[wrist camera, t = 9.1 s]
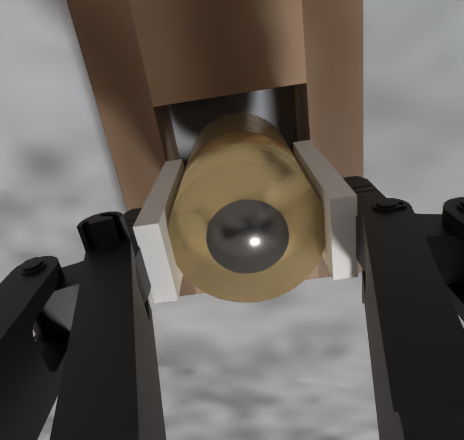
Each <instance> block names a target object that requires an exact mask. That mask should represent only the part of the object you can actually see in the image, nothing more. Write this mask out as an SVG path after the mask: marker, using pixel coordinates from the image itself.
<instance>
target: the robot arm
mask: <svg viewBox="0 0 464 440" xmlns="http://www.w3.org/2000/svg"><path fill="white" fill-rule="evenodd" d="M293 148H294V157H295V158H296V160H297V162H298V163H299V165H300V167H301V169H302V170H303V172H304V174H305V175H306V177H307V179H308V181H309V182H310V184H311V186H312V187H313V189H314V191H315V193H316V194H317V196H318V198H319V199H320V201H321V204H322V206H323V208H324V221H325V241H326V245H325V248H324V251H323V254H322V256H323V258H324V260H325V263H326V265H327V267H328V269H329V272H330V274H331V276H332V278H333V280H337V279H344V278H352V277H358V262H359V264H360V266H361V267H362V303H365V312H366V321H367V330H368V339H369V348H370V357H371V366H372V375H373V384H374V393H375V403H376V412H377V421H378V430H379V439H380V440H464V328H463V326H462V324H461V321H460V319H459V317H458V315H459V316H460V318H461V319H462V320H463V321H464V197H458V198H454V199H450V200H448V201H446V202H445V203H444V205H443V214H416V213H414V211H413V209H412V206H411V205H410V204H409V203H408V202H405V201H403V200H400V199H395V198H386V197H385V196H384V195H383V194H382V193H381V192H380V191H379V190H377V188H376V187H375V186H373V184H372V183H371V182H370V181H369V180H368V179H365V178H362V177H360V176H351V177H344V178H342V177H341V176H340V174H339V173H338V172H337V171H336V170H335V169H334V167H333V166H332V165H331V164H330V163H329V161H328V160H327V159H326V158H325V157H324V155H323V154H322V153H321V152H320V151H319V149H318V148H317V147H316V146H315V145H314V144H313V142H312V141H311V140H306V141H299V142H293ZM184 172H185V169H184V164H183V159H179V160H172V161H166V162H165V164H164V166H163V168H162V170H161V172H160V174H159V176H158V178H157V180H156V182H155V184H154V186H153V188H152V190H151V192H150V194H149V195H148V197H147V199H146V201H145V203H144V205H143V207H142V208H135V209H130V210H129V211H128V212H126V213H125V214H124V215H122V213H120V212H104V213H100V214H96V215H93V216H91V217H88V218H86V219H84V220H83V221H82V222H80V223H79V224H78V226H77V229H78V231H79V234H80V237H81V240H82V242H83V245H84V248H85V251H86V253H85V258H84V261H82V262H79V263H76V264H72V265H69V266H66V267H62V268H61V266H60V264H59V261H58V259H57V258H56V257H53V256H43V257H35V258H32V259H31V260H30V259H29V260H27V261H25V262H24V263H23V264H21V265H19V266H17V267H16V268H15V269H14V270H13V271H11V272H10V274H9V275H8V276H7V277H6V278H5V279H4V280H3V281H2V282H1V283H0V440H37V439H38V437H39V435H40V433H41V430H42V428H43V426H44V424H45V422H46V420H47V418H48V415H49V413H50V411H51V409H52V407H53V405H54V403H55V400H56V398H57V396H58V399H57V404H56V410H55V415H54V420H53V425H52V431H51V436H50V440H166V435H165V426H164V417H163V408H162V399H161V391H160V382H159V373H158V364H157V355H156V346H155V338H154V329H153V320H152V311H151V307H150V304H149V300H148V296H149V292H150V289H151V292H152V296H153V299H154V302H155V303H160V302H167V301H175V300H178V298H179V293H180V288H181V282H182V277H183V274H182V273H181V271H180V270H179V268H178V267H177V265H176V262H175V258H174V254H173V250H172V246H171V242H170V238H169V234H168V225H169V219H170V215H171V212H172V209H173V206H174V203H175V199H176V196H177V193H178V190H179V187H180V184H181V181H182V178H183V175H184ZM33 330H34V332H35V334H36V335H35V336H34V337H33Z"/></svg>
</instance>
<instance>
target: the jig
mask: <svg viewBox="0 0 464 440" xmlns="http://www.w3.org/2000/svg"><path fill="white" fill-rule="evenodd" d="M67 3H68V7H69V10H70V14H71V17H72V20H73V24H74V27H75V31H76V34H77V38H78V41H79V45H80V48H81V51H82V55H83V58H84V62H85V65H86V69H87V72H88V75H89V79H90V82H91V86H92V89H93V93H94V96H95V100H96V103H97V106H98V110H99V113H100V117H101V120H102V124H103V127H104V131H105V134H106V137H107V141H108V144H109V148H110V151H111V155H112V158H113V162H114V165H115V168H116V172H117V175H118V179H119V182H120V186H121V189H122V193H123V196H124V199H125V203H126V206H127V210H128V211H129V210H130V209H135V208H142V207H143V205H144V203H145V201H146V199H147V197H148V195H149V194H150V192H151V190H152V188H153V186H154V184H155V182H156V180H157V178H158V176H159V174H160V172H161V170H162V168H163V166H164V164H165V162H166V161H172V160H179V154H178V150H177V145H176V140H175V135H174V131H173V126H172V121H171V117H170V112H169V107H168V105H169V104H175V103H181V102H188V101H194V100H200V99H207V98H213V97H219V96H226V95H232V94H239V93H245V92H251V91H258V90H264V89H270V88H277V87H283V86H289V85H293V87H294V100H295V113H296V126H297V139H298V142H299V141H306V140H311V141H312V142H313V144H314V145H315V146H316V147H317V148H318V149H319V151H320V152H321V153H322V154H323V155H324V157H325V158H326V159H327V160H328V161H329V163H330V164H331V165H332V166H333V167H334V169H335V170H336V171H337V172H338V173H339V174H340V176H341V177H342V178H344V177H351V176H360V177H362V178H363V0H67ZM360 272H362V267H361V266H360V264H359V262H358V273H360ZM330 276H331V274H330V272H329V269H328V267H327V265H326V263H325V260H324V258H323V256H321V258H320V260H319V262H318V264H317V266H316V267H315V269H314V270H313V271H312V272H311V274H310V275H309V276H308V277H307V278H306V279H305V280H307V279H314V278H322V277H330ZM200 293H205V292H204V291H202V290H200V289H199V288H197V287H196V286H194V285H193V284H192V283H191V282H190V281H189V280H188V279H187V278H186V277H185V276H184V275H183V277H182V282H181V288H180V293H179V296H184V295H192V294H200Z"/></svg>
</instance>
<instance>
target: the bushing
mask: <svg viewBox="0 0 464 440" xmlns="http://www.w3.org/2000/svg"><path fill="white" fill-rule="evenodd" d="M168 234H169V238H170V242H171V246H172V250H173V254H174V258H175V262H176V265H177V267H178V268H179V270H180V271H181V273H182V274H183V275H184V276H185V277H186V278H187V279H188V280H189V281H190V282H191V283H192V284H193V285H194V286H196V287H197V288H199V289H200V290H202V291H204V292H205V293H207V294H209V295H212V296H214V297H217V298H220V299H223V300H227V301H233V302H258V301H264V300H268V299H272V298H275V297H278V296H280V295H282V294H285V293H286V292H288V291H290V290H292V289H293V288H295V287H296V286H298V285H299V284H300V283H302V282H303V281H304V280H305V279H306V278H307V277H308V276H309V275H310V274H311V272H312V271H313V270H314V269H315V267H316V266H317V264H318V262H319V260H320V258H321V256H322V254H323V251H324V248H325V245H326V241H325V221H324V208H323V206H322V204H321V201H320V199H319V198H318V196H317V194H316V193H315V191H314V189H313V187H312V186H311V184H310V182H309V181H308V179H307V177H306V175H305V174H304V172H303V170H302V169H301V167H300V165H299V163H298V162H297V160H296V158H295V157H294V155H293V153H292V152H291V150H290V148H289V146H288V145H287V143H286V141H285V140H284V138H283V136H282V135H281V133H280V132H279V131H278V130H277V128H276V127H275V126H273V125H272V124H271V123H270V122H268V121H267V120H265V119H263V118H261V117H259V116H256V115H253V114H248V113H233V114H228V115H225V116H222V117H219V118H217V119H215V120H214V121H212V122H211V123H209V124H208V125H207V126H206V127H205V128H204V129H203V130H202V131H201V132H200V133H199V135H198V137H197V138H196V140H195V142H194V144H193V147H192V150H191V153H190V156H189V159H188V162H187V166H186V169H185V172H184V175H183V178H182V181H181V184H180V187H179V190H178V193H177V196H176V199H175V203H174V206H173V209H172V212H171V215H170V219H169V225H168Z"/></svg>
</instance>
